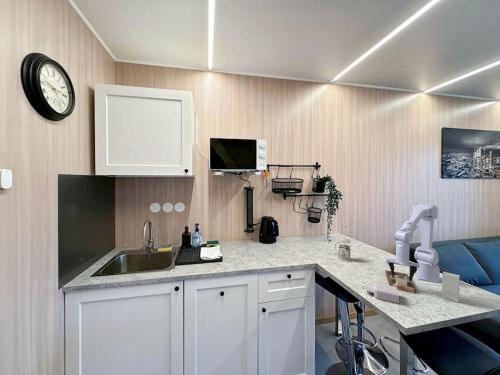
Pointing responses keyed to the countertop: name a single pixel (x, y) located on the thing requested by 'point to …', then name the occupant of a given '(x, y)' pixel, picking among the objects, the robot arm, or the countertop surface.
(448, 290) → the skincare box
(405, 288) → the socket holder
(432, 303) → the countertop surface
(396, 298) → the charger
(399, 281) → the plug
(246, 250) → the countertop surface
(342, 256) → the french press
